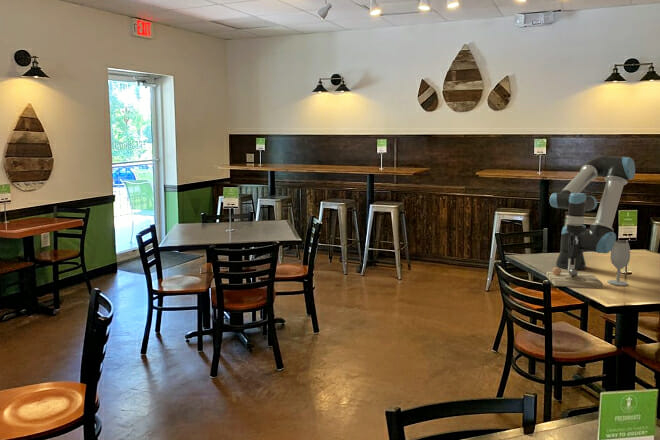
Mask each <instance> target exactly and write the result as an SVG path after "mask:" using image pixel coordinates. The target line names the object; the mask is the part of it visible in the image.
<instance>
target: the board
mask: <svg viewBox="0 0 660 440" xmlns="http://www.w3.org/2000/svg"><path fill="white" fill-rule="evenodd" d="M545 274H546V275H545V277H546V278H547V280H549V281H550V283H551V284H552V285H553V286H555V287H570V288H571V287H573V288H587V289H589V288H592V289H603V288H604V287H603V286H604V283H603V282H602V281H601V280H600V279H598V278H597V277H596V276H595V275H594V274H593V273H583V272H582V273H579V272H578V274H577V276H575V277H572V276H570V275H569V272H562V271H561V273H560V274H559V275H555V274H553V271H546V273H545Z"/></svg>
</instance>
